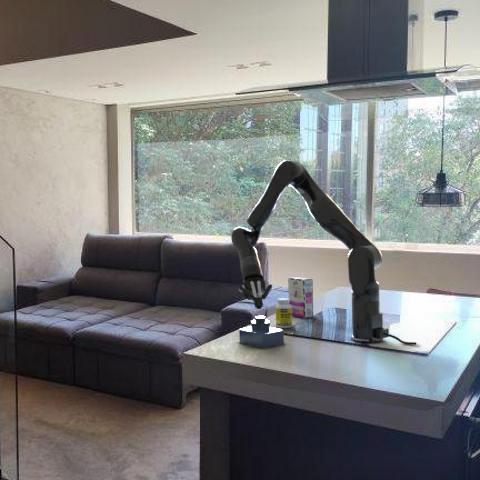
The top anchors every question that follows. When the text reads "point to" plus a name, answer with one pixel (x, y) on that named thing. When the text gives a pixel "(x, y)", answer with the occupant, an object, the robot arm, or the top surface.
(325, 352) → the top surface
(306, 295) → the candy bar box
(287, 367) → the top surface
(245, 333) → the blue square base
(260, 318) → the button
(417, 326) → the top surface
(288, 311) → the pill bottle
